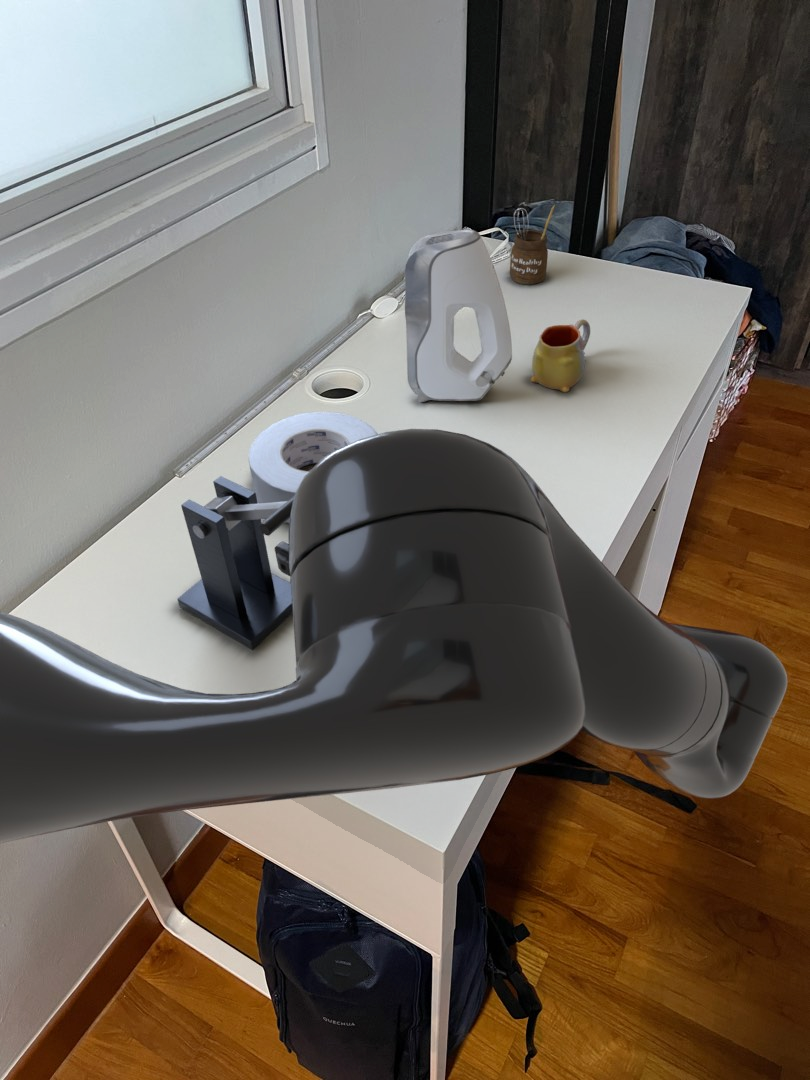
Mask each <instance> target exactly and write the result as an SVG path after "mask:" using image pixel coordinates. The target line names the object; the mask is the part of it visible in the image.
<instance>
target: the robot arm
mask: <svg viewBox="0 0 810 1080" xmlns="http://www.w3.org/2000/svg"><path fill="white" fill-rule="evenodd" d="M566 521H567V520H565V518H564V517H563V516H562V515H561V513H560V512H559V510H557V508H556V507H555V505H554V503H552V501H551V500H550V499H549V498H548V496H547V495H546V493H545V492H544V491H543V489H542V488H541V487H540V486H539V485H538V483H537V482H536V481H535V480H534V479H533V478H532V476H531V475H530V474H529V473H528V472H527V471H526V470H525V469H524V467H522V466H521V465H520V463H518V462H517V461H516V460H515V459H514V458H512V457H511V456H510V455H508V453H506V452H505V451H503V450H502V449H500V448H498V447H496V446H494V445H493V444H491V443H489V442H486V441H484V440H482V439H478V438H476V437H473V436H470V435H467V434H464V433H459V432H455V431H448V430H442V429H438V428H437V429H435V428H432V429H431V428H407V429H399V430H391V431H384V432H381V433H378V434H377V435H373V436H370V437H366V438H363V439H360V440H357V441H355V442H353V443H351V444H348V445H346V446H344V447H341V448H339V449H337V450H335V451H333V452H332V453H330V454H328V455H327V456H326V457H324V458H323V459H321V460H320V461H319V462H318V463H315V465H314V466H313V467H312V468H311V469H310V470H309V472H308V473H307V474H306V475H305V476H304V478H303V480H302V481H301V483H300V485H299V487H298V489H297V490H296V493H295V495H294V499H293V504H292V509H291V514H290V523H288V524H289V525H288V543H287V542H285V541H283V540H282V541H280V542H279V543H278V544H277V545H276V546H274V552H275V557H276V563H277V567H278V570H279V571H280V572H281V573H282V574H284V575H287V576H288V577H289V579H290V581H289V583H291V593H292V609H293V613H292V624H293V637H294V650H295V680H294V681H293V682H291V683H289V684H287V685H284V686H281V687H278V688H274V689H269V690H262V691H257V692H246V693H206V692H200V691H196V690H190V689H185V688H181V687H178V686H175V685H171V684H169V683H166V682H163V681H159V680H157V679H153V678H152V677H151V678H150V677H147V676H145V675H142V674H139V673H136V672H134V671H132V670H130V669H127V668H125V667H124V666H121V665H119V664H117V663H114V662H112V661H110V660H109V659H106V658H104V657H102V656H101V655H99V654H97V653H94V652H93V651H91V650H89V649H87V648H85V647H83V646H81V645H79V644H77V643H76V642H73V641H71V640H69V639H68V638H65V637H64V636H62V635H59V634H57V633H56V632H54V631H52V630H50V629H47V628H45V627H43V626H40V625H38V624H35V623H34V622H32V621H29V620H27V619H24V618H21V617H18V616H15V615H13V614H10V613H7V612H4V611H1V610H0V844H4V843H9V842H14V841H19V840H23V839H28V838H33V837H38V836H42V835H47V834H52V833H57V832H62V831H65V830H71V829H77V828H83V827H86V826H87V827H88V826H92V825H98V824H102V823H103V824H104V823H107V822H114V821H120V820H125V819H132V818H137V817H144V816H151V815H158V814H166V813H174V812H179V811H180V812H181V811H189V810H198V809H207V808H216V807H227V806H236V805H246V804H255V803H264V802H274V801H283V800H294V799H301V798H303V799H304V798H312V797H313V798H314V797H323V796H332V795H333V796H334V795H343V794H351V793H362V792H369V791H370V792H373V791H381V790H393V789H398V788H407V787H416V786H422V785H431V784H439V783H447V782H454V781H461V780H467V779H472V778H478V777H483V776H488V775H493V774H497V773H501V772H504V771H509V770H513V769H516V768H520V767H522V766H525V765H528V764H530V763H534V762H536V761H539V760H542V759H545V758H548V757H549V756H551V755H552V754H554V753H555V752H557V751H559V750H561V749H562V748H564V747H566V746H567V745H569V744H570V743H571V742H573V740H574V739H575V738H576V737H577V736H578V734H579V733H580V732H581V730H582V731H583V732H585V733H586V734H588V735H589V736H591V737H592V738H595V739H596V740H598V741H600V742H602V743H605V744H607V745H609V746H611V747H616V748H618V749H619V748H620V749H623V750H625V751H631V752H633V753H634V754H635V756H636V757H637V759H639V761H641V763H643V765H644V766H645V767H646V768H647V769H648V770H649V771H651V772H652V774H654V775H655V776H656V777H657V778H659V779H660V780H661V781H662V782H664V783H666V784H667V785H669V786H671V787H672V788H674V789H676V790H678V791H680V792H682V793H683V794H686V795H689V796H692V797H696V798H700V799H704V800H705V799H708V800H714V799H721V798H724V797H727V796H729V795H731V794H732V793H734V792H736V790H737V789H739V788H740V786H742V784H743V783H744V781H745V780H746V778H747V777H748V774H749V772H750V771H751V768H752V767H753V765H754V762H755V760H756V757H757V755H758V753H759V751H760V749H761V746H762V744H763V743H764V740H765V738H766V735H767V733H768V731H769V729H770V726H771V725H772V723H773V718H775V716H776V714H777V712H778V710H779V708H780V706H781V704H782V701H783V699H784V697H785V694H786V692H787V688H788V683H789V682H788V675H787V671H786V669H785V667H784V665H783V664H782V662H781V660H780V659H779V658H778V656H777V655H776V654H775V653H774V652H773V651H772V650H771V649H770V648H769V647H767V646H766V645H765V644H764V643H761V642H760V641H758V640H757V639H754V638H752V637H749V636H747V635H744V634H741V633H736V632H731V631H727V630H722V629H716V628H708V627H701V626H693V625H685V624H678V623H673V622H669V621H667V620H665V619H663V618H661V616H659V615H657V614H656V613H654V612H653V611H652V610H651V609H649V608H648V607H647V606H645V605H644V604H643V603H642V601H640V599H638V598H637V597H636V596H635V595H634V594H633V593H632V592H631V591H630V590H629V589H628V588H627V587H626V586H624V584H623V583H622V582H621V581H620V580H619V579H618V578H617V577H616V576H615V575H614V574H613V573H612V572H611V570H610V569H608V567H606V565H605V564H604V563H603V562H602V561H601V559H600V558H599V557H598V556H597V555H596V554H595V553H594V552H593V550H592V549H591V548H590V547H589V546H588V545H587V544H586V543H585V542H584V540H583V539H582V538H581V537H580V536H579V535H578V534H577V533H576V532H575V530H574V529H573V528H572V527H571V526H570V525H569V523H567V522H566Z"/></svg>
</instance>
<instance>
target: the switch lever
mask: <svg viewBox="0 0 810 1080" xmlns="http://www.w3.org/2000/svg"><path fill="white" fill-rule="evenodd" d="M293 499H294V496H293V497H292V498H291V499H290V500H288V501H285V502H272V503H258V504H246V505H238V504H237V503H236V501H235V499H234V498H233V496H226V497H217V496H216V497H214V498H212V500H209V502H207V503H206V504H204V505H203V507H205V508H207V509H209V510H211V511H213V512H215V513H217V514H219V515H221V516H223V517H224V518H225V523H226V527H227V531H229V530H230V529H232V528H233V527H234V526H235V525H237V524H238V523H239V522H240V521H242V520H258V519H261V520H263V521H261V523H260V524H259V528H260V530H261V532H262V533H263V534H264V536H268V537H270V536H271V535H272V534H274V532H276V531H277V530H278V529H280V527H281V526H283V525H284V524H285V523H286V521H287V520H288V519H290V514H291V509H292V504H293Z"/></svg>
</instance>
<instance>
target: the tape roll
mask: <svg viewBox="0 0 810 1080" xmlns="http://www.w3.org/2000/svg"><path fill="white" fill-rule="evenodd" d="M377 434H379V433H378V432H377V431H376V430H375V427H372V426H371V425H370V424H369V423H368V422H367V421H364V420H362V419H360V418H357V417H355V416H353V415H349V414H345V413H341V412H335V411H334V412H333V411H311V412H301V413H298V414H294V415H290V416H287V417H285V418H283V419H280V420H278V421H276V422H275V423H273V424H271V425H269V426H268V427H266V428H265V429H264V430H263V431H261V432H260V433H259V434H258V435H257V436H256V438H255V439H254V440H253V441H252V444H251V445H250V447H249V450H248V465H249V470H250V475H251V481H252V486H253V492H255V493H256V498H257V503H258V504H259V503H272V502H285V501H288V500H290V499H291V498H292V497H293V496H294V495H295V493H296V490H297V489H298V487H299V485H300V483H301V481H302V480H303V478H304V476H305V475H306V474H307V473H308V472H309V471H310V470H309V471H307V470H303V469H301V468H302V467H305V466H308V465H312V464H317V463H318V462H319V461H320V460H321V459H323V458H324V457H326V456H327V455H328V454H330V453H332V452H333V451H335V450H337V449H339V448H341V447H344V446H346V445H348V444H351V443H353V442H355V441H357V440H360V439H363V438H366V437H370V436H373V435H377ZM285 523H286V524H289V523H290V519H288V520H287V521H286V522H285Z"/></svg>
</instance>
